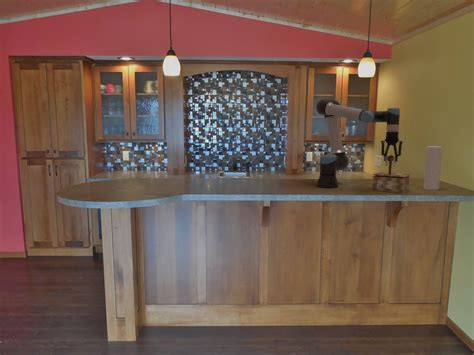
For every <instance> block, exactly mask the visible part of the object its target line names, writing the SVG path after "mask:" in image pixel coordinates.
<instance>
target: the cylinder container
mask: <svg viewBox="0 0 474 355" xmlns="http://www.w3.org/2000/svg"><path fill="white" fill-rule="evenodd" d="M425 150H426V151H425V161H424V162H425V165H424V177H423V178H424V179H423V189H425V190H429V191H438V189H439V190H440V180H441V167H442V166H441V165H442V157H443V156H442V153H443V146H438V145H429V146H426V149H425Z"/></svg>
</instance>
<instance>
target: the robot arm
mask: <svg viewBox="0 0 474 355" xmlns="http://www.w3.org/2000/svg"><path fill="white" fill-rule="evenodd" d="M315 106H316V107H315V109H316V112H317V113H318V114H319V115H322V116H323V117H324V118H323V119H324V120H326V123H327V124H326V125H327V132H328V138H329V139H328V140H329V145H330V146H329V147H330V153H327V154H326V153H325V154H323V155H321V156H320V159H319V176H318V180H317V182H316V186H317V187H318V186H319V188H323V187H330V188H329V189H333V188H332V187H335V188H338V187H339V182H338V178H337V171H343V170H345V169H347V168H348V167H349V165H350V159H349V156H347V155H346V151H345V150H344V149H343V142H342V135H341V129H340V128H341V126H340V120H339V118H345V119H351V120H356V121H361V122H363V123H365V124H368V123H369V124H370V123H386V132H385V139H383V140H381V141H380V144H381V152H380V153H381V155H380V156H383V161H384V163H385V165H384V166H385V167H387V166H388V165H389V161H388V160H387V157H388V156H389V155H388V152H389V149H390V146H392V147H393V152H394V160H393V162H392V166H393V167H396V165H397V162H398V160H399V157H401V155H402V145H403V142H404V141H403V140H400V139H399V131H400V116H401V113H400V112H401V111H400V110H401V109H400V107H388V108H387V110H380V111H379V110H367V109H361V108H356V107H350V106H345V105H342V104H341V102H340V101H338V100H336V99H327V98H325V99H320V100H319V101H318V102H317V103H316V105H315ZM397 143H398V144H397ZM385 144H386V145H385ZM397 145H398V149H397ZM385 146H386V148H385Z"/></svg>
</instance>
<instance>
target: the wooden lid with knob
mask: <svg viewBox="0 0 474 355" xmlns="http://www.w3.org/2000/svg"><path fill="white" fill-rule="evenodd" d="M387 156H388V157H387V160H388V172H384V171H377V172H375V173H373V174H372V175H373V176H375V175H381V176H394V177H407V176H410V174H409V173H401V172H400V173H397V172H392V166H393V162H394V157H395V155H391V154H390V155H387Z"/></svg>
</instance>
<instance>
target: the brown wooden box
mask: <svg viewBox="0 0 474 355" xmlns="http://www.w3.org/2000/svg"><path fill="white" fill-rule="evenodd" d="M371 188H372V191H373V192H383V193H393V194H406V193H407V192H408V191H409V189H410V175H409V176H407V177H394V176H381V175H373V176H372V187H371Z"/></svg>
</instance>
